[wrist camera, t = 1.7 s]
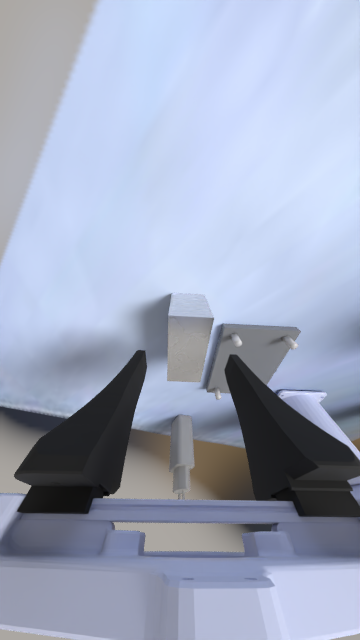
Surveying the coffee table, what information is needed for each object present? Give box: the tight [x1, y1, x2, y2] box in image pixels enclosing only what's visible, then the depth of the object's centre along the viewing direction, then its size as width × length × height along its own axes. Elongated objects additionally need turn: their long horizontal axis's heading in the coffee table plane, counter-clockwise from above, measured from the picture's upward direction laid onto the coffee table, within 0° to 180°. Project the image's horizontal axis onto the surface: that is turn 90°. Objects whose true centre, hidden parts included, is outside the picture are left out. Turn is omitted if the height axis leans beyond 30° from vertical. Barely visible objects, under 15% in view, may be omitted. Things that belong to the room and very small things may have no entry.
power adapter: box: [169, 415, 194, 500], centre depth 24 cm, size 3×5×12 cm, turn 160°
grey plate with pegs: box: [206, 324, 301, 400], centre depth 19 cm, size 13×9×2 cm
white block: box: [167, 293, 214, 382], centre depth 15 cm, size 8×4×5 cm, turn 177°
